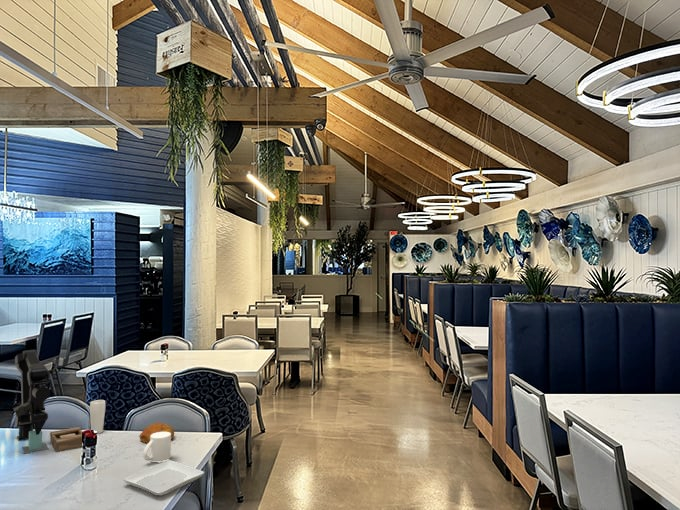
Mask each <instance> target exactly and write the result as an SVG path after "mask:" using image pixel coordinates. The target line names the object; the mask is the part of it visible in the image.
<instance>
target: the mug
mask: <svg viewBox="0 0 680 510" xmlns="http://www.w3.org/2000/svg"><path fill="white" fill-rule="evenodd" d="M171 448H172V440H171V433H170V432H156V433H153V434H152V435H151V436H150V442H149V443H146V446H145V447H144V449H143V452H142V457H143V459H144V460H145V461H149V462H150V460H151V461H163V460H167V459H169V458H170V457H171V456H172V455H171V454H172V453H171V452H172V449H171ZM148 451H149V456H148ZM170 459H171V458H170Z"/></svg>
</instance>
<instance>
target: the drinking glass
mask: <svg viewBox="0 0 680 510" xmlns="http://www.w3.org/2000/svg"><path fill="white" fill-rule="evenodd" d="M105 414H106V400H104V399H97V400H91V401H90V403H89V417H90V419H89V420H90V421H89V422H90V431H91V430H95V431H97V434H96V435H98V434H101V433H103V431H104V423H105V422H104V421H105Z"/></svg>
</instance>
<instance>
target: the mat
mask: <svg viewBox="0 0 680 510" xmlns="http://www.w3.org/2000/svg"><path fill="white" fill-rule="evenodd" d="M21 449H22V453H23V454H24V455H25V454H26V455H27V454H31V452H32V453H36V452H43V451H47V450H49V446H48V445H47V443H46V442H42V448H40V449H34V450H29V448H28V445H25V446H22V447H21Z"/></svg>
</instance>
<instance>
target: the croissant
mask: <svg viewBox="0 0 680 510" xmlns="http://www.w3.org/2000/svg"><path fill="white" fill-rule="evenodd" d="M156 432H170V433H171V439H172V438H173V439H174V437H175V430H174V428H173V427H171V426H170V425H168V424H167V423H161V422H154V423H152V424H150V425H148V426H147V427H146V428H144V429H143V430H142V431H141V432H140V434H139V436H138V437H139V440H140V441H141V442H142V441H143V442H142V443H145V442H147V443H146V444H148V443H149V442H150V436H151V435H152V434H153V433H156Z"/></svg>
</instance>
